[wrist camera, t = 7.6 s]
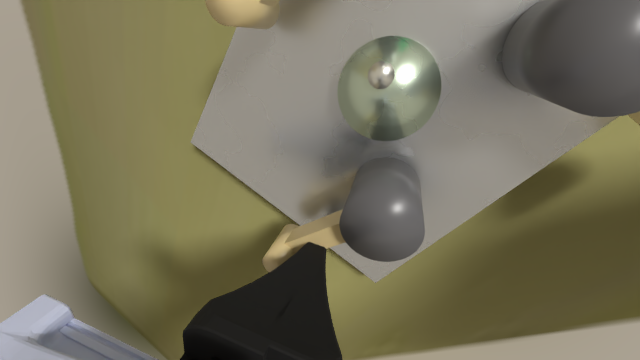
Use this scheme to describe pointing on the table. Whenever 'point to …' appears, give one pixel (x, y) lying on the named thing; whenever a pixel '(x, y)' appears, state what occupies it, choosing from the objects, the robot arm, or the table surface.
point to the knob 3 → (578, 55)
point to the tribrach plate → (382, 109)
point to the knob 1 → (245, 12)
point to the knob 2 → (365, 218)
